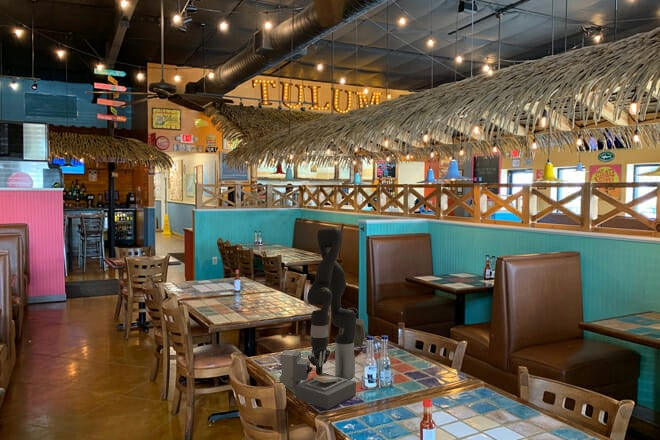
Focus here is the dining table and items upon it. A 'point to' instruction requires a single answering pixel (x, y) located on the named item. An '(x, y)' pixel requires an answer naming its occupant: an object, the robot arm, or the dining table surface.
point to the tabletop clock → (357, 331)
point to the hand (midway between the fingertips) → (319, 374)
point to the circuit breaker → (293, 368)
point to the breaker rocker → (325, 379)
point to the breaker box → (325, 391)
